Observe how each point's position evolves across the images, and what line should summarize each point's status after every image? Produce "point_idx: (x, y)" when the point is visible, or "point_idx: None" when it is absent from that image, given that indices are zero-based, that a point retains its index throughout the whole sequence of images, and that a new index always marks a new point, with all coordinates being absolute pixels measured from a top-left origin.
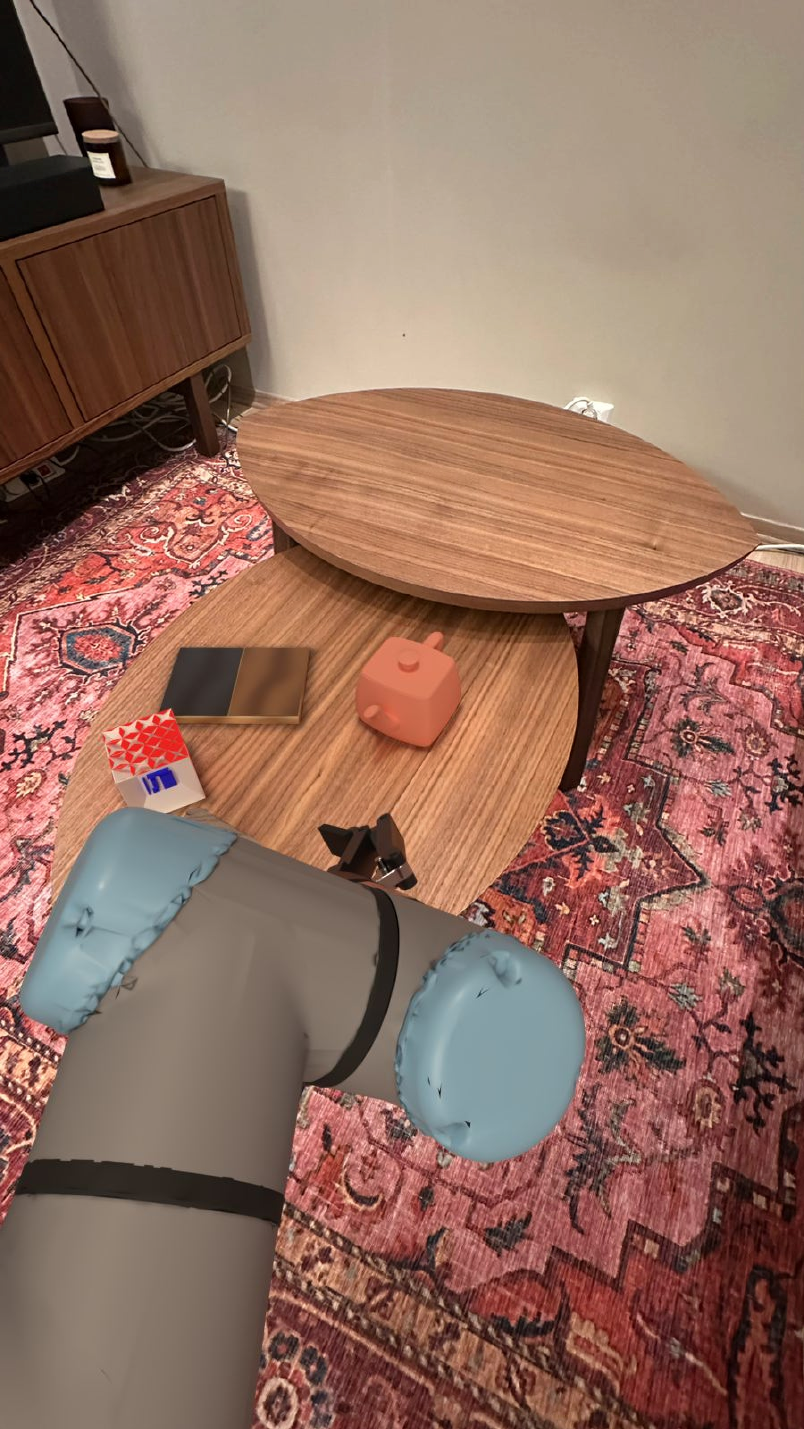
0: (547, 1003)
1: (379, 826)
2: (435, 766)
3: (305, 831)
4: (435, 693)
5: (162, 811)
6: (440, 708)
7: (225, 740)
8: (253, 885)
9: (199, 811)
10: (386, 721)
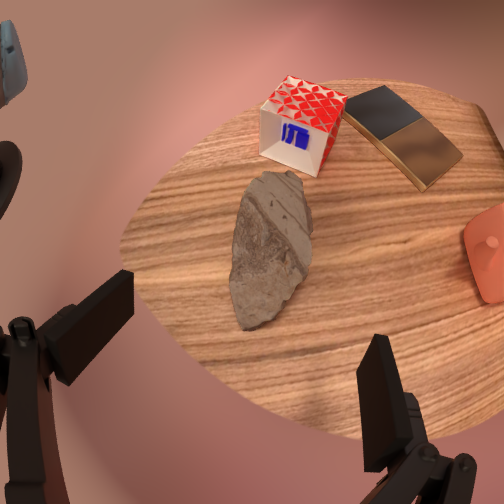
0: None
1: (451, 498)
2: (476, 321)
3: (357, 274)
4: None
5: (280, 160)
6: None
7: (365, 154)
8: None
9: (296, 180)
10: (489, 260)
